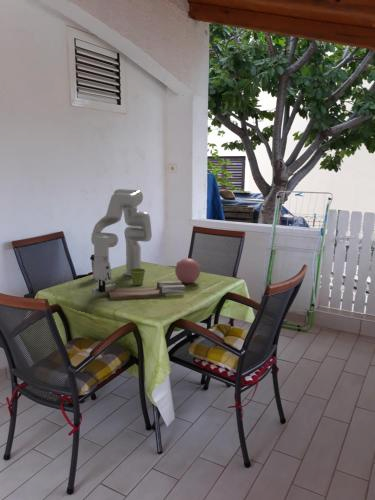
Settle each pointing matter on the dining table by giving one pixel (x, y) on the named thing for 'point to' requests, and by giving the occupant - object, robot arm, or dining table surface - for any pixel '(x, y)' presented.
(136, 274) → the plant pot
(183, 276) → the balloon
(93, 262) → the coffee cup
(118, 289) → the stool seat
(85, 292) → the dining table surface
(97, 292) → the folding leg
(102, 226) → the robot arm
